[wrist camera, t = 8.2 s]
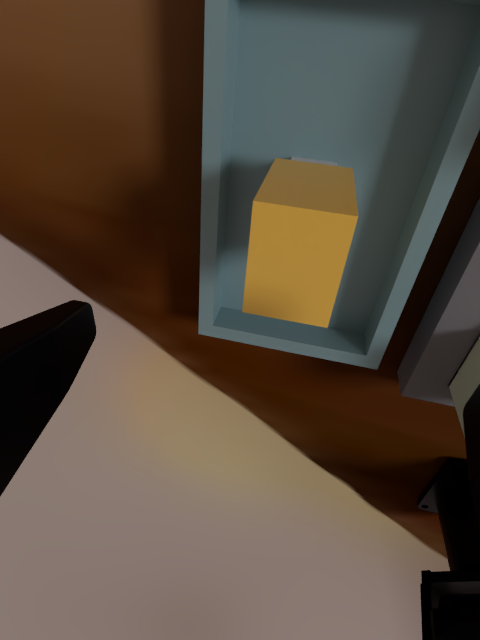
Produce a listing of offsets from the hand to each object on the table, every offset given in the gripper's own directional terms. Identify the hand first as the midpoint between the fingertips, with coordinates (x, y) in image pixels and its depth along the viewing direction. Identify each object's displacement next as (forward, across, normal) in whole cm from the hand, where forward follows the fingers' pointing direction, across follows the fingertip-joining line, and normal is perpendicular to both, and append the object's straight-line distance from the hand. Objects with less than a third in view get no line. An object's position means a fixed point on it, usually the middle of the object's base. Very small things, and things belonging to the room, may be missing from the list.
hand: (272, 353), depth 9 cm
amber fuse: (+11, 0, 0) cm, 11 cm away
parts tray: (+12, 0, 0) cm, 12 cm away
